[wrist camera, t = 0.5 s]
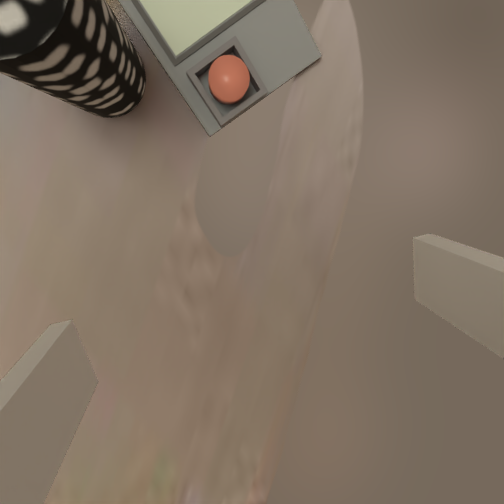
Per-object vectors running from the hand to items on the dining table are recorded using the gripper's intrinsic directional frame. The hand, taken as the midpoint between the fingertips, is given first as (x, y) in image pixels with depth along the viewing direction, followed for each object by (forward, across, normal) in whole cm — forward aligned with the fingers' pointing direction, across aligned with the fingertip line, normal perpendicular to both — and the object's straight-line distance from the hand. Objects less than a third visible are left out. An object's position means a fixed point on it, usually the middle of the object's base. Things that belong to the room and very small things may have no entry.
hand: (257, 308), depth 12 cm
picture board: (+28, +4, +20) cm, 35 cm away
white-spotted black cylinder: (+28, -9, +16) cm, 34 cm away
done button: (+26, +4, +12) cm, 29 cm away
